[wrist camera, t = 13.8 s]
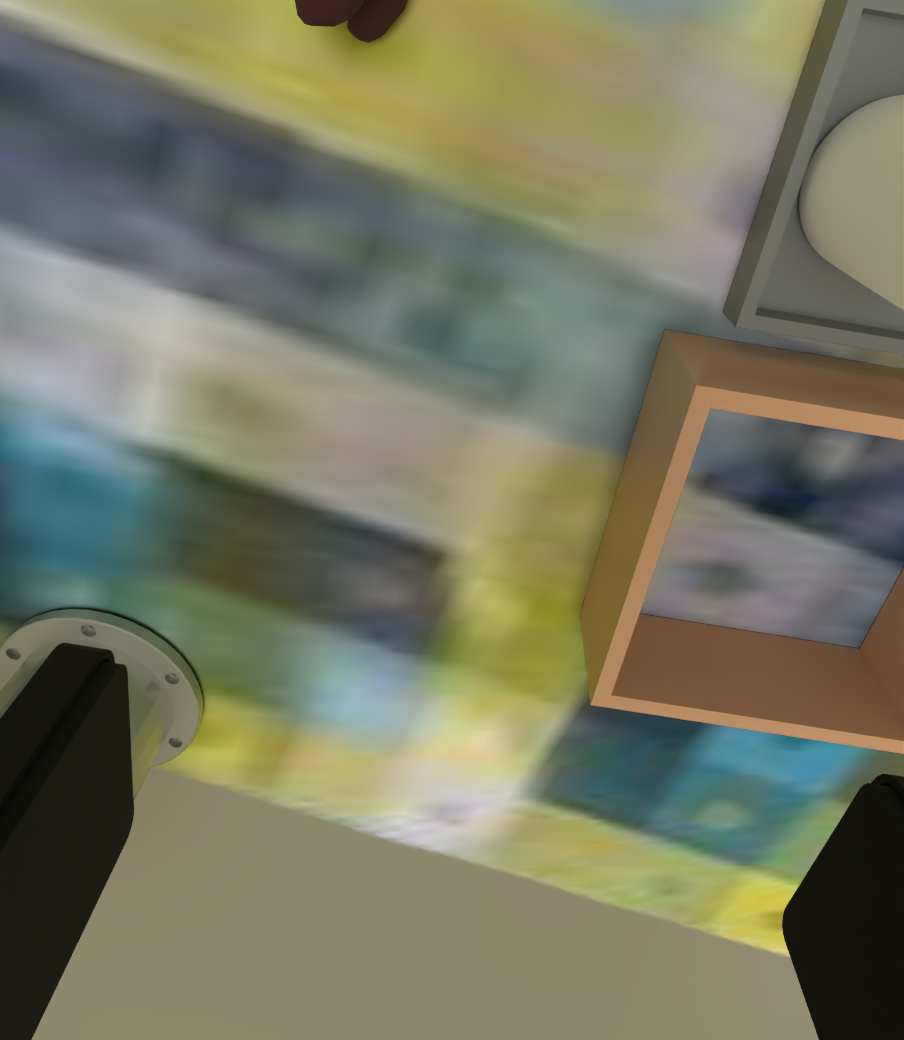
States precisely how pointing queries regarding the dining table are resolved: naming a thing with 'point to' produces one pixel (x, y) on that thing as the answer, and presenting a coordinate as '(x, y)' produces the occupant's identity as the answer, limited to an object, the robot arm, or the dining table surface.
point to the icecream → (352, 15)
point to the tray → (777, 225)
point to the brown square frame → (719, 650)
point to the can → (860, 198)
